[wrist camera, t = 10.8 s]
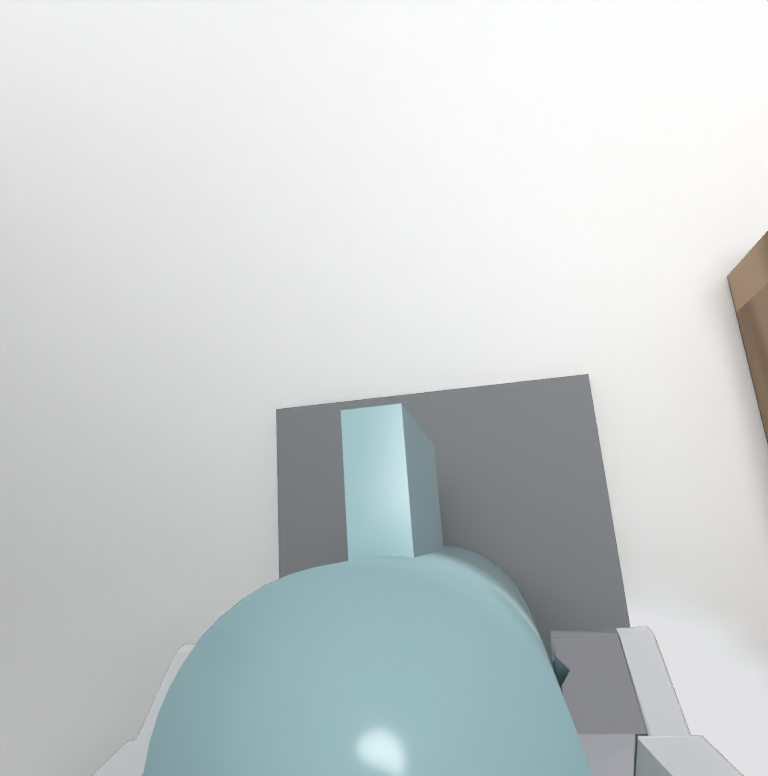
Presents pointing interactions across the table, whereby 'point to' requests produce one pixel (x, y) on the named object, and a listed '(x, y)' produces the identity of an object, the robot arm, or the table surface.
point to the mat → (479, 491)
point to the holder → (754, 316)
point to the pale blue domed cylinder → (374, 650)
